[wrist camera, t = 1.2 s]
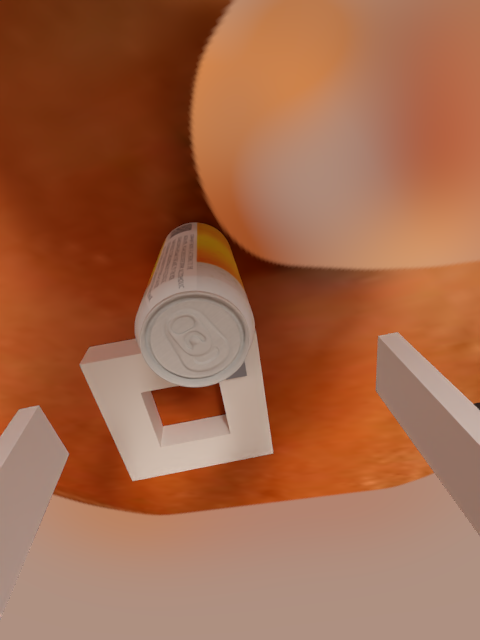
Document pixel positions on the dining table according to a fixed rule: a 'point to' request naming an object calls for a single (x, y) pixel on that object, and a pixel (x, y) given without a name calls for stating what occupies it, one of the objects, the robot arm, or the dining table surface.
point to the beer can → (195, 310)
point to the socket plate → (183, 438)
